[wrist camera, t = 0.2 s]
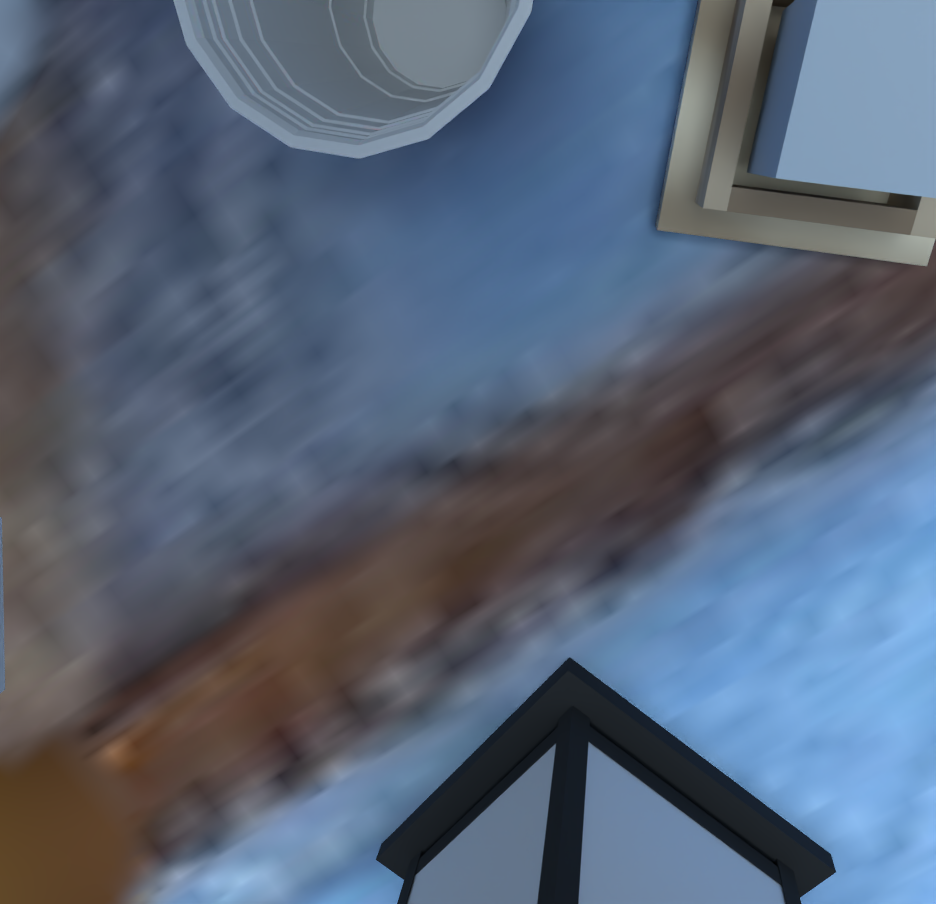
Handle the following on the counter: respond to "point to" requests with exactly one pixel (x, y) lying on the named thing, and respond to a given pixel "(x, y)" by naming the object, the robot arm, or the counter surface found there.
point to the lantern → (596, 817)
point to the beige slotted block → (729, 148)
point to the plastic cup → (351, 64)
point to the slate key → (852, 97)
